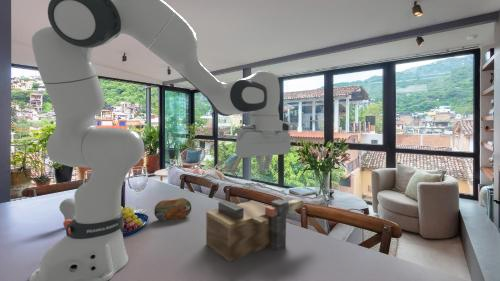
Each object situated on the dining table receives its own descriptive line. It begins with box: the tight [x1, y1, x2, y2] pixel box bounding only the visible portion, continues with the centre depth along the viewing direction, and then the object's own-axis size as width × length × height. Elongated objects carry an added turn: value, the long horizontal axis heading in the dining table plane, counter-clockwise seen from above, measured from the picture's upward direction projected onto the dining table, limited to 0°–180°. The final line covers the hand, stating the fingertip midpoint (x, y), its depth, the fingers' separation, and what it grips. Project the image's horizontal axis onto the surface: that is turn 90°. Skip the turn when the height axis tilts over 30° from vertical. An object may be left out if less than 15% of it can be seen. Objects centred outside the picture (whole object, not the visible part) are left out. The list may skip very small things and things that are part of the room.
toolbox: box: [205, 199, 290, 263], centre depth 83 cm, size 20×18×15 cm
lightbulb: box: [58, 197, 75, 221], centre depth 98 cm, size 6×6×11 cm
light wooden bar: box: [265, 198, 304, 217], centre depth 85 cm, size 15×3×2 cm, turn 129°
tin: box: [153, 197, 192, 222], centre depth 107 cm, size 15×3×8 cm, turn 114°
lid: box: [205, 200, 270, 229], centre depth 83 cm, size 20×18×5 cm
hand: (264, 169), depth 78 cm, fingers closed
